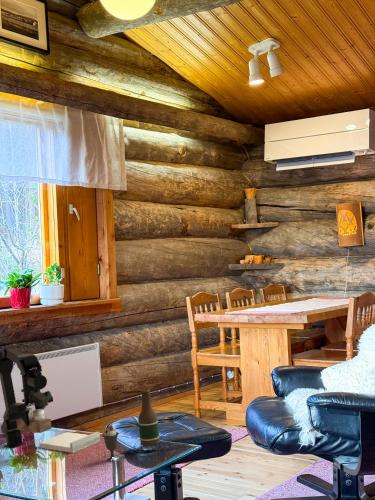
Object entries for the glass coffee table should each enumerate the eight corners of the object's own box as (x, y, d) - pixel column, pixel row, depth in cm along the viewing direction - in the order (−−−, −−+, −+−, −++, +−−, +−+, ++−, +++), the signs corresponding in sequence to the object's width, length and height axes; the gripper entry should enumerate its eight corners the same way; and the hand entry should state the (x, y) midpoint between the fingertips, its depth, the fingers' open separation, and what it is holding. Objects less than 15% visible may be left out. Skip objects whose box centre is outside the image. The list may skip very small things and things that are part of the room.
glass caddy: (17, 429, 294) (15, 410, 293) (28, 425, 298) (26, 406, 298) (40, 433, 285) (38, 413, 285) (51, 428, 290) (49, 409, 290)
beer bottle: (141, 446, 290) (135, 388, 289) (160, 444, 291) (154, 386, 290) (141, 452, 283) (135, 392, 282) (161, 450, 283) (155, 390, 282)
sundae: (118, 462, 274) (115, 423, 273) (102, 462, 275) (98, 424, 274) (123, 456, 280) (119, 418, 280) (107, 456, 281) (103, 419, 281)
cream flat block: (39, 447, 303) (38, 438, 302) (67, 436, 315) (66, 427, 315) (73, 452, 291) (72, 443, 291) (100, 441, 303) (99, 432, 303)
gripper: (25, 393, 279) (29, 432, 279) (60, 382, 294) (64, 419, 294) (6, 391, 286) (10, 429, 286) (42, 380, 300) (45, 417, 301)
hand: (33, 424), depth 292 cm, fingers closed on glass caddy, 6 cm apart
